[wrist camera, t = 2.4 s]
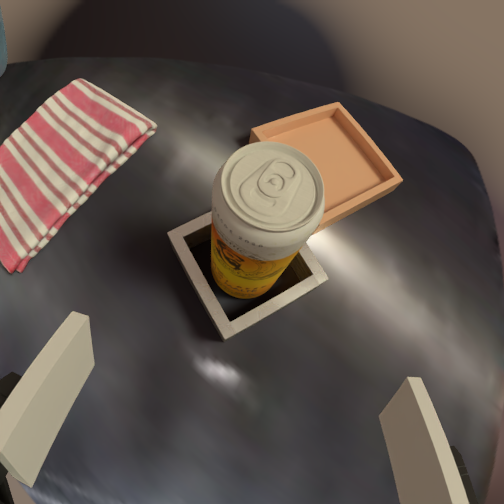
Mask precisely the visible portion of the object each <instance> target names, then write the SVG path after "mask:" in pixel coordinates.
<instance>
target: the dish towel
mask: <svg viewBox="0 0 504 504" xmlns="http://www.w3.org/2000/svg"><path fill="white" fill-rule="evenodd" d="M156 129H157V125H156V124H155V123H154V122H153V121H151V120H149V119H148V118H146V117H145V116H144V115H142V114H141V113H139V112H137V111H136V110H134V109H133V108H131V107H129V106H128V105H126V104H125V103H123V102H121V101H120V100H118V99H117V98H115V97H113V96H112V95H110V94H109V93H107V92H105V91H104V90H102V89H100V88H98V87H97V86H95V85H93V84H92V83H89V82H88V81H86V80H83V79H77V80H74V81H72V82H71V83H70V84H69V85H67V86H66V87H64V88H63V89H61V90H59V91H58V92H57V93H55V94H54V95H53V96H52V97H50V98H48V99H47V100H46V101H45V102H44V104H43V105H41V106H40V107H39V108H38V109H37V110H36V112H35V113H34V114H33V115H32V116H31V117H30V118H28V120H26V121H25V122H24V123H23V124H22V125H21V126H20V127H19V128H18V129H16V130H15V131H14V132H13V133H12V134H11V135H10V137H8V138H7V139H6V140H5V141H4V143H3V144H2V145H1V146H0V261H1V262H2V264H3V266H4V267H5V268H6V269H7V270H8V272H10V273H11V274H12V273H13V272H14V271H15V269H16V270H17V271H18V272H20V273H22V272H23V270H24V269H25V267H26V266H27V263H28V262H29V260H30V259H31V258H33V257H34V256H35V255H36V254H38V252H39V251H40V250H41V249H42V248H43V247H44V246H45V245H46V244H47V243H48V242H49V241H50V240H51V238H52V237H53V236H55V234H56V233H57V232H58V230H59V229H60V227H61V226H62V225H63V223H64V222H65V221H66V220H67V219H68V218H69V217H70V216H71V215H72V214H73V213H74V212H75V211H76V210H77V209H78V208H79V207H80V206H81V205H82V204H83V203H84V202H85V201H86V200H87V199H88V198H89V196H90V195H91V194H92V193H94V191H95V190H96V189H97V188H98V187H99V185H100V184H101V183H102V182H103V181H104V180H105V179H106V178H107V177H108V176H109V175H111V174H112V173H114V172H115V171H116V170H117V169H118V168H119V167H120V166H121V165H122V164H123V163H125V162H126V161H127V160H128V159H129V157H130V156H131V155H133V154H134V153H135V152H136V151H137V150H138V148H139V147H140V146H141V145H142V144H143V143H144V142H145V141H146V140H147V139H148V138H149V137H151V136H152V135H153V134H154V133H155V132H156Z"/></svg>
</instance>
